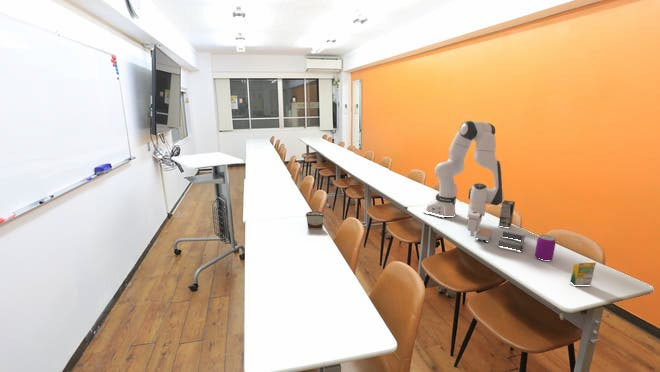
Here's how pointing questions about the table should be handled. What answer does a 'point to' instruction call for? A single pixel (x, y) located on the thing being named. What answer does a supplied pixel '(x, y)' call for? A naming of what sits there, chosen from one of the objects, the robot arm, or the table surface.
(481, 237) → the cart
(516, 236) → the dock bay
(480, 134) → the robot arm
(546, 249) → the beverage can
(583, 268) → the crayon box
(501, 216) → the coffee box
